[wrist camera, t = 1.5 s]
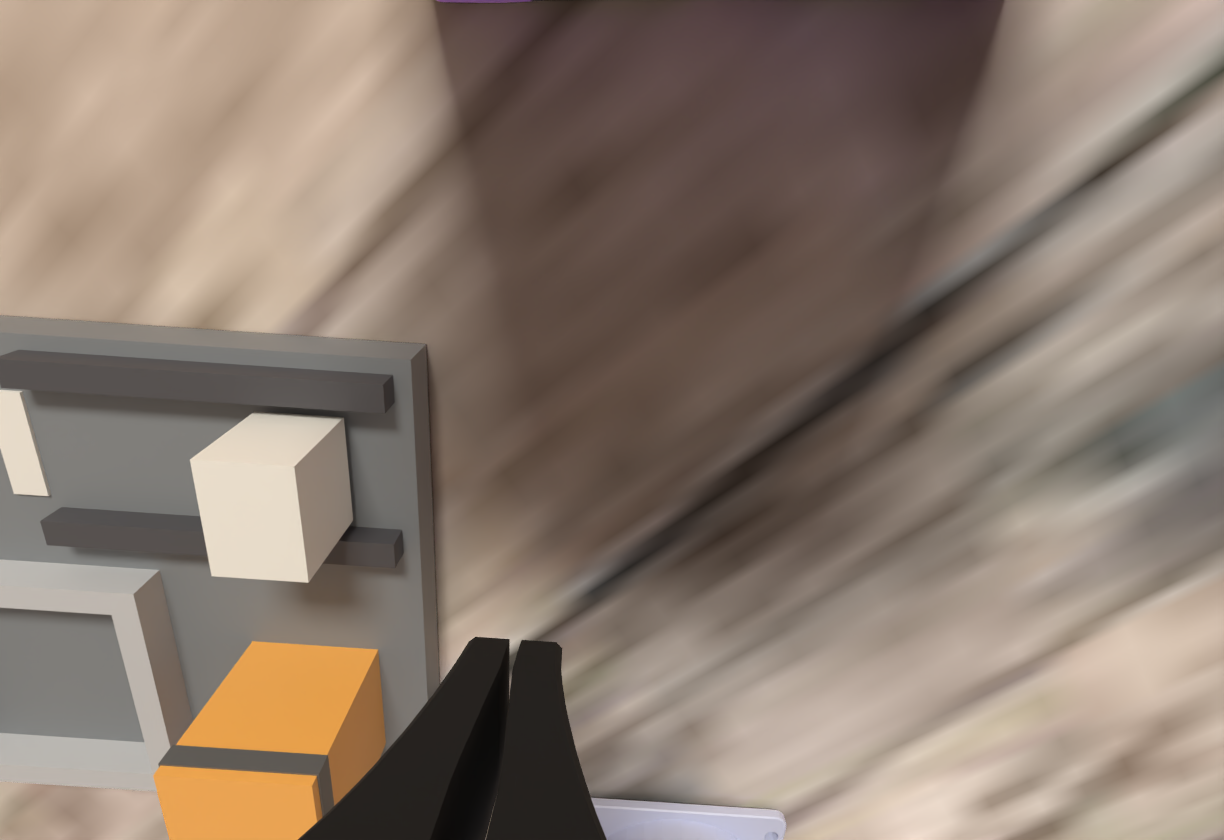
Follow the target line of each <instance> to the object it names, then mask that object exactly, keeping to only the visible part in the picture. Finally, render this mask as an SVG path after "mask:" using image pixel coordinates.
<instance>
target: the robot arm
mask: <svg viewBox="0 0 1224 840" xmlns="http://www.w3.org/2000/svg"><path fill="white" fill-rule="evenodd" d="M561 661H562V648H561V647H560V646H559V645H558V644H557V643H556V642H543V641H528V640H522V641H521V644H520V647H519V650H518V653H517V656H516V660H515V663H514V667H513V672H512V680H511V690H510V699H509V639H498V638H483V637H475V638H473V639H472V640H471V641H469V642H468V644H467V646H466V647H465V649H464V651H463V652H462V654H461V655H460V657H459V658H458V660H457V661H456V663H455V664H454V666H453V667H452V669H451V670H450V672H449V673H448V674H447V676H446V677H445V679H444V680H443V681H442V683H441V684H440V686H439V687H438V688H437V690H436V691H435V692H434V694H433V695H432V696H431V698H430V699H429V700H428V701H427V703H426V704H425V705H424V707H423V708H422V709H421V710H420V712H419V713H418V714H417V715H416V717H415V718H414V719H413V720H412V722H411V723H410V724H409V726H408V727H407V728H406V729H405V730H404V732H403V733H402V734H401V735H400V736H399V737H398V738H397V740H396V741H395V742H394V743H393V744H392V745H391V746H390V748H389V749H388V750H387V751H386V752H385V753H384V754H383V756H382V757H381V758H380V759H379V760H378V761H377V762H376V763H375V765H374V766H373V767H372V768H371V769H370V770H369V771H368V772H367V773H366V774H365V775H364V776H363V777H362V779H361V780H360V781H359V782H358V783H357V784H356V785H355V786H354V787H353V788H352V789H351V790H350V791H349V792H348V793H347V794H346V795H345V796H344V797H343V798H342V799H341V800H340V801H339V802H338V803H337V804H336V805H335V806H334V807H333V808H332V809H331V810H330V811H329V812H328V813H327V814H325V815H324V816H323V817H322V818H321V819H320V820H319V821H318V822H317V823H316V824H315V825H313V826H312V827H311V828H310V829H309V830H308V831H307V832H306V833H305V834H303V835H302V836H301V837H300V838H299V839H298V840H485V837H486V833H487V829H488V826H489V822H490V826H489V830H488V834H487V838H486V840H783V839H784V835H785V831H786V821H785V817H784V815H783V813H781V812H780V811H778V810H773V809H758V808H743V807H728V806H712V805H697V804H682V803H666V802H651V801H636V800H621V799H605V798H591V797H590V794H589V791H588V788H587V785H586V782H585V779H584V775H583V772H582V769H581V766H580V763H579V759H578V755H577V752H576V748H575V745H574V740H573V736H572V732H571V728H570V724H569V719H568V715H567V710H566V705H565V699H564V692H563V685H562V675H561ZM496 796H497V797H496ZM495 800H496V801H495ZM494 803H495V805H494ZM493 807H494V809H493ZM492 811H493V813H492ZM491 814H492V817H491ZM490 818H491V821H490Z"/></svg>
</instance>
